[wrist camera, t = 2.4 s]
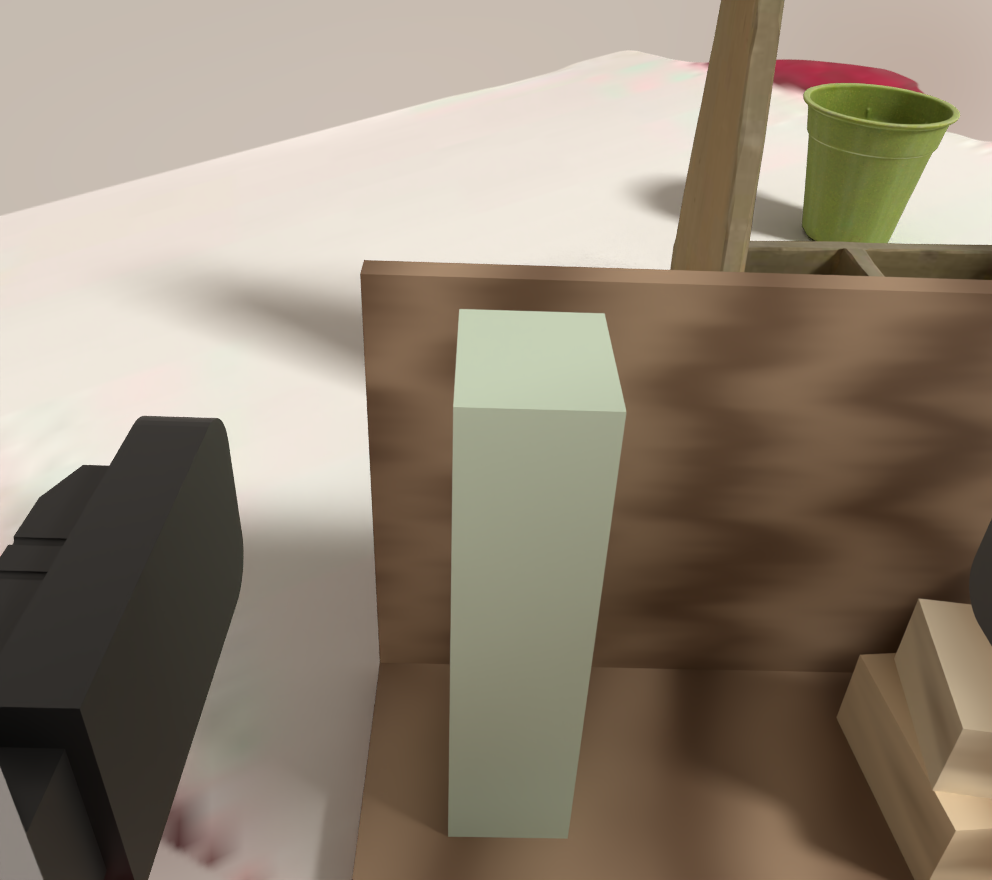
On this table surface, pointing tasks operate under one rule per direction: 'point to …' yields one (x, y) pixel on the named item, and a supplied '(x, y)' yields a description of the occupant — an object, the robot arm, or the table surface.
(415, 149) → the table surface
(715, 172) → the caddy
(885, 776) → the offcut
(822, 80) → the table surface
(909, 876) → the rack
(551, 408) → the sage green pillar
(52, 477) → the table surface
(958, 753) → the offcut
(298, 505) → the table surface
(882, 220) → the plant pot
